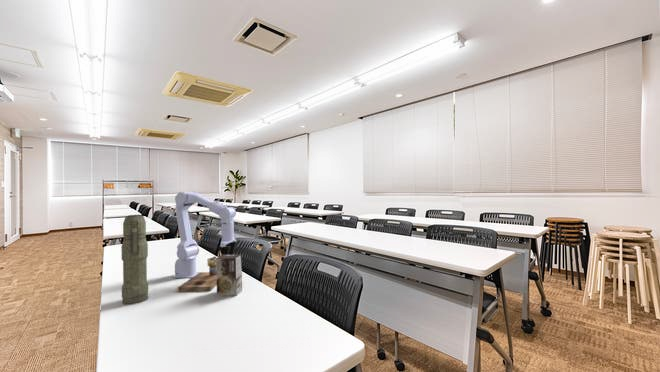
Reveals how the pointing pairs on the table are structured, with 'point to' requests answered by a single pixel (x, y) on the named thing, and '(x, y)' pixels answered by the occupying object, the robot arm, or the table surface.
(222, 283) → the coffee box
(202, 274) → the board
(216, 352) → the table surface
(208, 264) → the gold rounded piece
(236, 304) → the table surface
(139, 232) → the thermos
